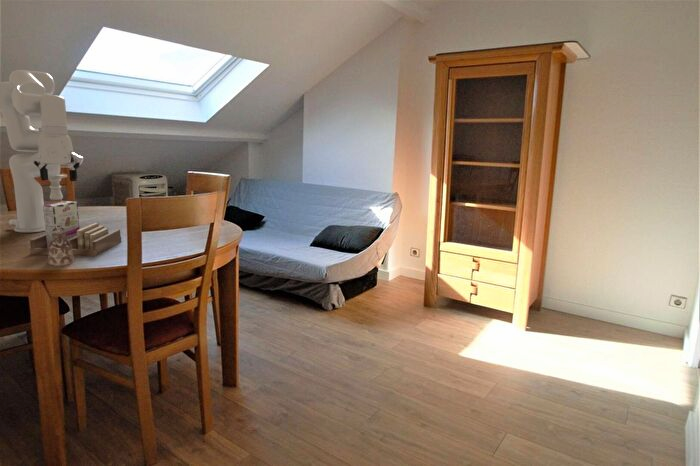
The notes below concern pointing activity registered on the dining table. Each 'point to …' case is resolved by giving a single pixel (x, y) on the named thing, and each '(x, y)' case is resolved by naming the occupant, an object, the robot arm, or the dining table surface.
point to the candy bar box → (61, 219)
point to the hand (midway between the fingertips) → (59, 180)
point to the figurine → (60, 248)
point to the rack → (98, 245)
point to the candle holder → (56, 188)
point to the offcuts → (90, 235)
